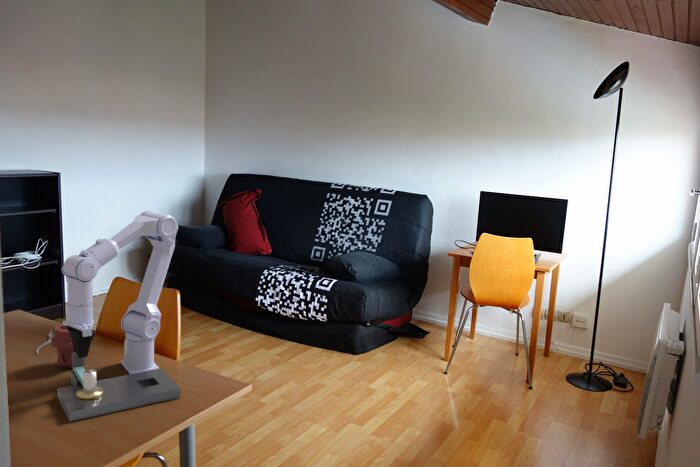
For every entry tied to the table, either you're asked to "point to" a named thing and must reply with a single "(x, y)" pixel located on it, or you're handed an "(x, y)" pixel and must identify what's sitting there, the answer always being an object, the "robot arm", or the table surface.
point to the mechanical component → (63, 345)
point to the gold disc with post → (89, 386)
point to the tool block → (118, 394)
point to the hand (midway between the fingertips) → (81, 354)
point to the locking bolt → (78, 366)
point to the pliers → (45, 342)
